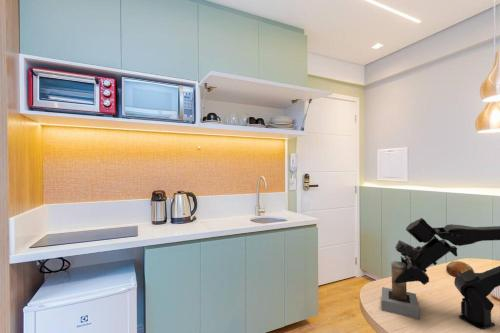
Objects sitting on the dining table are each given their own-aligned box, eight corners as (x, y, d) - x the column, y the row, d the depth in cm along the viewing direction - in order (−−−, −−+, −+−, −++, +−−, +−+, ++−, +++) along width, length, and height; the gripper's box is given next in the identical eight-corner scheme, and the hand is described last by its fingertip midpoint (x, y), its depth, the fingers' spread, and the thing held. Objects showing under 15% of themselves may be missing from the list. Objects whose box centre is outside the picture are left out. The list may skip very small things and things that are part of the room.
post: (408, 297, 89) (407, 263, 89) (405, 303, 86) (404, 267, 86) (393, 293, 92) (392, 260, 92) (390, 298, 89) (389, 263, 89)
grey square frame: (415, 303, 91) (415, 293, 91) (419, 319, 81) (419, 308, 82) (382, 295, 96) (382, 286, 96) (381, 310, 87) (381, 300, 87)
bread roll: (472, 282, 115) (470, 264, 118) (478, 281, 107) (475, 261, 110) (445, 278, 120) (444, 260, 123) (449, 276, 112) (447, 257, 115)
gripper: (406, 228, 96) (375, 253, 101) (415, 241, 79) (378, 270, 84) (431, 251, 93) (398, 276, 97) (447, 270, 76) (405, 299, 80)
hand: (394, 279), depth 90 cm, fingers closed on post, 4 cm apart
